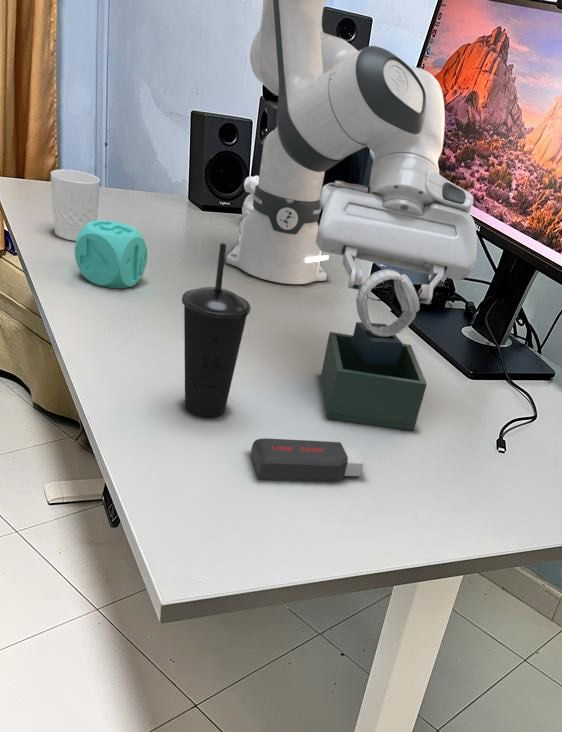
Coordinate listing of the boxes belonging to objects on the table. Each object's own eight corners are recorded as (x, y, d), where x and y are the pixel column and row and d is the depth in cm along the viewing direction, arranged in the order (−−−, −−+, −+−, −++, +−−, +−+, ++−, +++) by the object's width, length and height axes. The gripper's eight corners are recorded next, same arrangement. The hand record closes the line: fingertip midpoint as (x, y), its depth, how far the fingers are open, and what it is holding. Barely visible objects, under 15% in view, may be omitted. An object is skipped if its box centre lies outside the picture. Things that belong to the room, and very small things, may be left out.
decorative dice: (118, 292, 118) (120, 240, 113) (73, 277, 119) (74, 225, 115) (146, 281, 124) (149, 231, 120) (103, 266, 126) (105, 217, 121)
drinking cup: (166, 393, 94) (180, 229, 83) (226, 393, 98) (247, 236, 87) (180, 424, 89) (196, 253, 78) (243, 423, 92) (267, 259, 81)
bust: (244, 228, 170) (219, 182, 161) (272, 208, 170) (248, 162, 162) (264, 246, 161) (239, 199, 153) (293, 226, 162) (269, 178, 154)
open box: (320, 376, 108) (329, 331, 104) (399, 388, 110) (410, 344, 107) (327, 418, 98) (337, 370, 94) (413, 431, 100) (427, 384, 96)
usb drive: (250, 454, 87) (253, 433, 85) (350, 458, 91) (354, 438, 89) (257, 479, 83) (261, 458, 81) (361, 482, 87) (367, 462, 85)
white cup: (63, 225, 139) (63, 166, 133) (105, 235, 139) (107, 178, 133) (42, 234, 132) (42, 174, 126) (87, 246, 132) (88, 185, 126)
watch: (409, 365, 100) (433, 284, 93) (353, 363, 96) (374, 279, 90) (392, 345, 104) (414, 267, 97) (338, 343, 100) (357, 261, 94)
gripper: (326, 162, 93) (311, 264, 90) (485, 198, 96) (475, 298, 93) (319, 192, 99) (304, 289, 96) (469, 225, 102) (459, 320, 100)
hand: (390, 294), depth 95 cm, fingers closed on watch, 7 cm apart
